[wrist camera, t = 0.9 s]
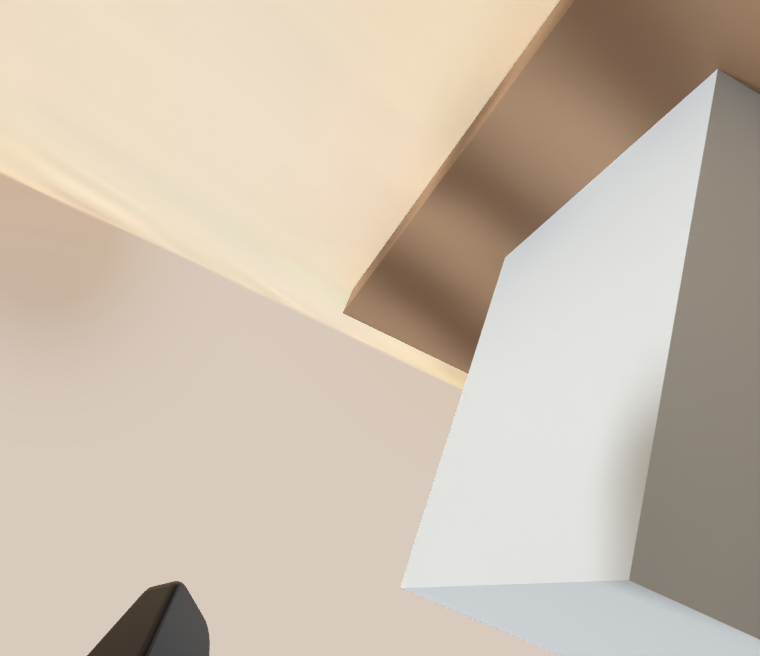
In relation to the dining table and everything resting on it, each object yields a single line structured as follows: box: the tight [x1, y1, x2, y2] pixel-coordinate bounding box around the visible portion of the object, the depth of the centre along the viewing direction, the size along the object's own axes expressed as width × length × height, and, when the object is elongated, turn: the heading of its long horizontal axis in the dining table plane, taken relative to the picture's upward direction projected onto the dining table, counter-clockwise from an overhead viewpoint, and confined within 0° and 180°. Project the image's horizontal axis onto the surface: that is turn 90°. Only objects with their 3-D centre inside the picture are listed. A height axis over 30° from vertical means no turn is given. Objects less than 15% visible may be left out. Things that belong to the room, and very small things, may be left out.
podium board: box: [343, 0, 760, 373], centre depth 22 cm, size 20×15×1 cm
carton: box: [400, 69, 760, 656], centre depth 17 cm, size 9×9×10 cm
